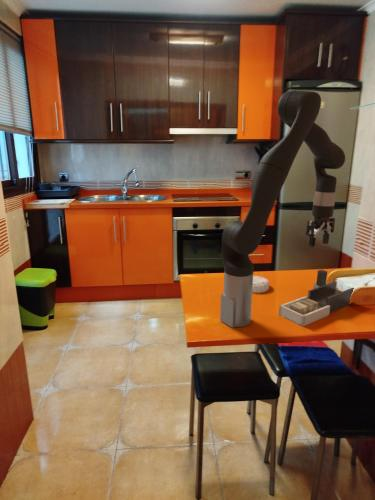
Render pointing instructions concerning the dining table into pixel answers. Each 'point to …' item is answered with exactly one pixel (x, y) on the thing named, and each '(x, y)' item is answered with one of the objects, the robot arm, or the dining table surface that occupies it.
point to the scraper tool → (320, 279)
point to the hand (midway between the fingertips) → (318, 245)
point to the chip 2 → (310, 305)
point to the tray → (299, 318)
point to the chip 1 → (299, 308)
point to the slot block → (330, 296)
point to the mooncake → (260, 284)
